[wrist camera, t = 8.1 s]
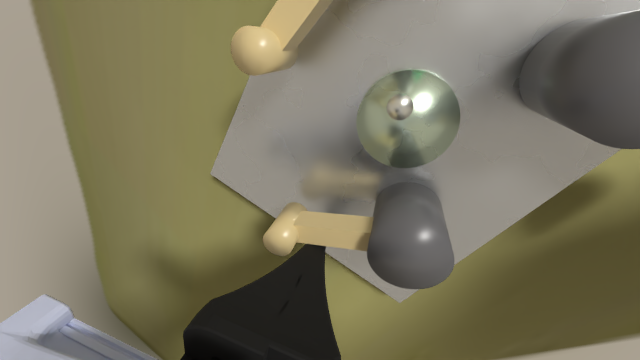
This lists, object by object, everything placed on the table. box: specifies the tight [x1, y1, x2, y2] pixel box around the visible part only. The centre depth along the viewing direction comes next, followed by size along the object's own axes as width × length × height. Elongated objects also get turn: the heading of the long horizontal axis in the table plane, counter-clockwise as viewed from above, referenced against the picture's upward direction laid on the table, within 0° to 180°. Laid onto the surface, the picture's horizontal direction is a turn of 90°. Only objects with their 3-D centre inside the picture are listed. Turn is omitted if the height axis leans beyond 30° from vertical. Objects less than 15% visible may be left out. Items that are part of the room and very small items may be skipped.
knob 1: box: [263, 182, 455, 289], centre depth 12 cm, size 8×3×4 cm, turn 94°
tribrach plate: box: [210, 0, 640, 303], centre depth 11 cm, size 14×18×2 cm
